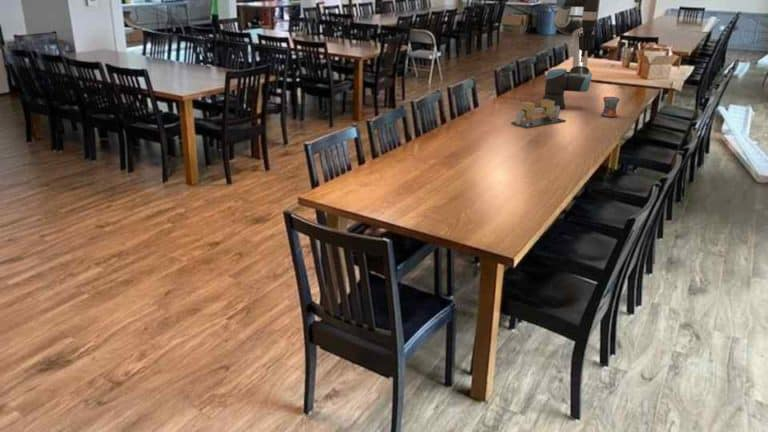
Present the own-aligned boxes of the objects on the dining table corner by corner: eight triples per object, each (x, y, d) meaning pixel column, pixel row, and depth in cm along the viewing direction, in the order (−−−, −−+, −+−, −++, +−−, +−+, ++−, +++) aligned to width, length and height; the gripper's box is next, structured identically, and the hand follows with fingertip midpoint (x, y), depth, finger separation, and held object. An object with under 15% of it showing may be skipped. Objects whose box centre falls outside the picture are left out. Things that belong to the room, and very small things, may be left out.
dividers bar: (514, 123, 336) (516, 103, 332) (553, 116, 351) (555, 97, 347) (523, 125, 331) (525, 105, 326) (562, 119, 345) (565, 100, 341)
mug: (614, 118, 353) (617, 100, 349) (598, 116, 358) (601, 98, 354) (620, 114, 362) (623, 97, 357) (604, 112, 367) (607, 95, 363)
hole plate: (511, 123, 339) (511, 121, 338) (549, 117, 353) (550, 114, 353) (526, 128, 329) (526, 125, 329) (565, 121, 344) (565, 119, 343)
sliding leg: (539, 118, 346) (541, 99, 341) (544, 117, 347) (546, 99, 343) (549, 120, 340) (551, 102, 336) (554, 119, 342) (556, 101, 338)
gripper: (586, 20, 335) (580, 64, 344) (602, 19, 341) (596, 62, 350) (575, 19, 341) (570, 62, 350) (591, 18, 347) (585, 60, 356)
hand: (583, 62), depth 350 cm, fingers closed
